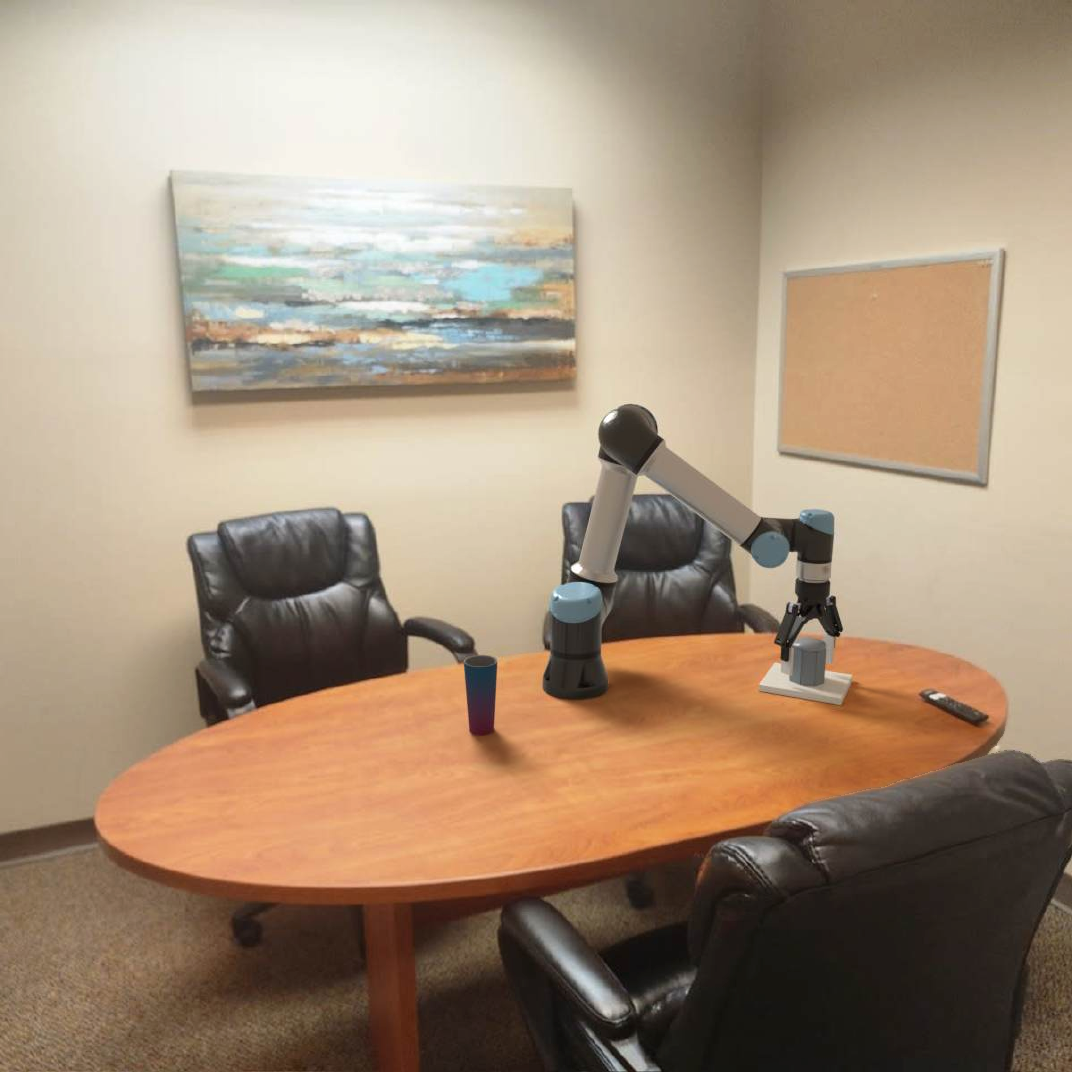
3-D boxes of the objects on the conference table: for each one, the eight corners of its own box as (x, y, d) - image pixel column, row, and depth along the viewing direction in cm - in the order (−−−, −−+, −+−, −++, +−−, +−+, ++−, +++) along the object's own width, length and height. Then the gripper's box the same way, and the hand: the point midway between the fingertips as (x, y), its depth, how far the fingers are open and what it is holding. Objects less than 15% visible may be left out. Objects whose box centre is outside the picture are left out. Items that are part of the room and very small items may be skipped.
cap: (807, 688, 198) (810, 650, 196) (782, 677, 205) (784, 640, 203) (830, 681, 202) (833, 644, 200) (804, 671, 209) (807, 635, 207)
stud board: (758, 690, 201) (760, 659, 199) (774, 668, 215) (776, 639, 213) (841, 705, 193) (843, 672, 191) (852, 680, 207) (854, 650, 205)
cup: (458, 733, 179) (457, 663, 176) (476, 720, 185) (475, 652, 182) (487, 739, 176) (486, 668, 173) (504, 727, 182) (503, 658, 179)
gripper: (787, 590, 189) (781, 684, 193) (863, 574, 202) (856, 662, 206) (761, 582, 195) (756, 673, 199) (836, 567, 208) (830, 653, 212)
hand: (807, 668), depth 203 cm, fingers open, 13 cm apart
